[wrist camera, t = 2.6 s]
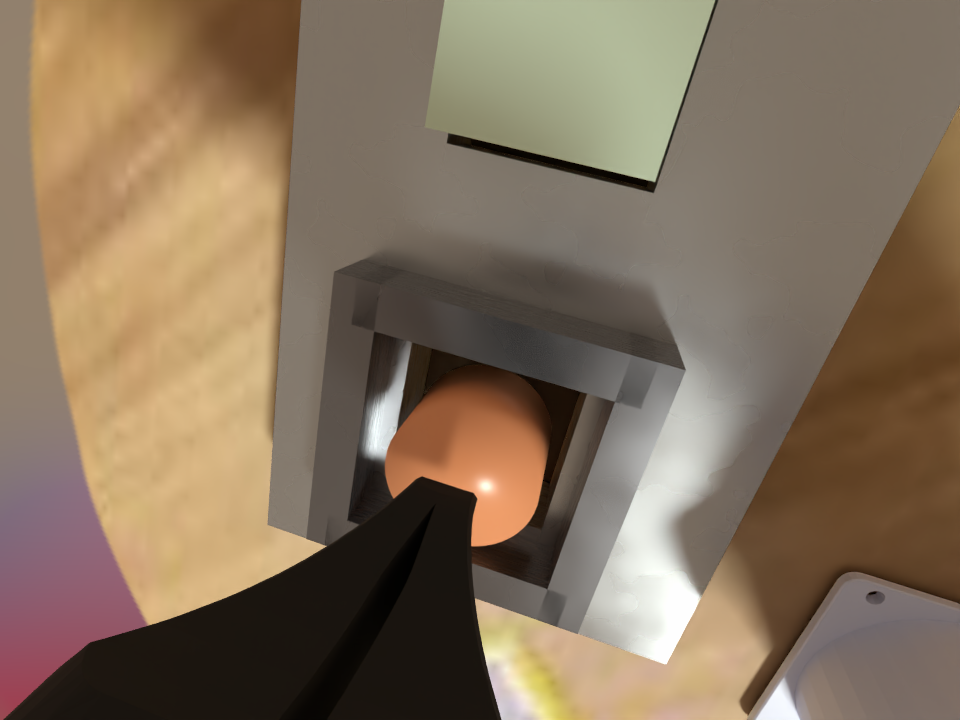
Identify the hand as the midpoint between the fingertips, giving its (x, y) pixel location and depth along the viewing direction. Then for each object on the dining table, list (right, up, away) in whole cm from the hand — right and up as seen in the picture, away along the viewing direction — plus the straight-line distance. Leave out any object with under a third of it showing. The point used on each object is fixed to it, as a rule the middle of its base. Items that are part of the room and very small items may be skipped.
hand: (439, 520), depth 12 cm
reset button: (+1, +2, +4) cm, 5 cm away
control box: (+3, +7, +4) cm, 8 cm away
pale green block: (+3, +11, 0) cm, 11 cm away
